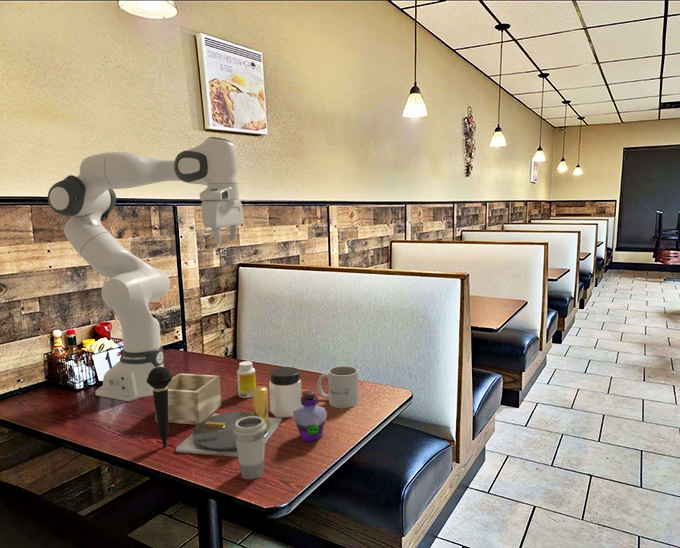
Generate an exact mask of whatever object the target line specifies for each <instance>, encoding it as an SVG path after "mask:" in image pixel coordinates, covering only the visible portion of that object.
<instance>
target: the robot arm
mask: <svg viewBox="0 0 680 548" xmlns="http://www.w3.org/2000/svg"><path fill="white" fill-rule="evenodd" d="M237 159H238V158H237V153H236V147H235V144H234V143H233V142H232V141H231V140H229V139H225V138H222V137H217V136H209V137H207V138H206V139H205V140H204V141H203V142H202V143H200V144H198V145H197V146H195V147H192V148H189V149H188V150H183V151H180V152H179V153H178V154H177V155H176V157H175V159H174V160H163V159H158V158H154V157H150V156H146V155H143V154H139V153H132V152H125V151H110V152H102V153H97V154H93V155H90V156H87V157H85V158H84V159H82V161H81V163H80V165H79V174H78V175H77V176H76V175H72V174H70V175H67V176H66V177H65V178H64V179H62V180H59V181H58V182H55V183H54V184H53V185H51V187H50V188H49V190H48V194H47V202H48V205H49V207H50V208H51V209H52V211H53V212H55V213H56V214H58V215H60V216H61V215H62V216H65V217H70V219H68V221H66V223H65V225H64V228H63V232H64V235H65V237H66V238H67V241H68V242H69V243H70V244H71V246H72V248H73V249H74V250H75V251H76V252H77V253H78V255H80V256H81V258H82V259H83V260H84V261H85V262H86V263H87V264H88V265H89V266H90V267H91V268H92V269H93V270H94V271H95V272H96V273H97V274H98V275H100V276H103V277H105V278H106V277H107V278H109V279H108V280H106V281H105V283H103V284H102V288H101V298H102V300H103V302H104V304H105V305H106V307H108V308H110V309H111V310H112V311H113V312H114V313H115V315H116V316H117V319H118V320H119V324H120V327H121V334H122V343H123V349H122V350H120V351H118V352H116V353H115V354H116V357H120V359H119V361H118V362H117V363H115V364H114V365H113V366H112V367H111V368H110V369H108V370H107V371H106V372H105V373H104V375H103V379H102V385H101V386H100V387H98V388H97V389H96V390H95V392H94V393H95V396H98V397H103V398H108V399H112V400H113V399H114V400H119V401H124V402H131V401H136V400H139V398H145V397H150V396H153V389H154V388H153V387H151V386H150V385H149V384H148V383H147V378H148V375H149V373H150V371H151V370H152V369H153V368H156V367H164V349H163V348H164V347H163V346H164V345H162V341H161V330H160V328H161V327H160V321H158V319H157V318H155V317H153V315H152V313H151V310H150V308H149V304H150V303H153V302H155V301H158V300H160V299H161V298H163V297H164V296H165V295H166V294H167V293H168V292H169V290H170V288H171V280H170V277H169V275H168V274H167V273H166V272H165V271H164V270H162V269H160V268H156V267H154V266H152V265H150V264H149V263H147V262H145V261H144V260H142V259H140V258H139V257H137V256H135V255H134V254H133V253H131V252H130V251H129V250H127V249H126V247H124V245H122V244H121V243H120V241H118V240H117V239H116V238H115V237H114V236H113V235H112V234H111V233H110V232H109V231H108V230H107V229H106V228H105V227H104V226H103V224H102V222H103V221H106V220H107V219H108V217H109V216H110V213H112V212H113V210H114V208H115V207H116V203H117V195H116V193H115V191H114V190H123V189H125V190H126V189H131V188H137V187H142V186H146V185H147V186H148V185H153V184H157V183H162V182H171V181H173V182H175V181H176V182H177V181H179V182H180V181H182V182H184V183H187V184H191V185H201V186H203V185H205V186H206V188H205V189H204V190H202V191H201V192H200V193H199V200H200V201H201V207H200V209H201V218H202V219H201V220H202V224H203V226H204V227H205V228H211V233H212V235H213V237H214V239H213V240H214V243H215V244H221V243H223V236H221V227H228V228H229V229H230V230H229V234H228V241H231V242H233V241H236V240H237V232H238V227H239V226H241V225H243V224H244V220H245V219H244V218H245V217H244V209H243V205H242V201H240V197H239V196H240V194H239V193H240V192H239V181H238V178H237V172H238V162H237V161H238V160H237ZM164 368H165V367H164Z"/></svg>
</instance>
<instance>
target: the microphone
mask: <svg viewBox="0 0 680 548" xmlns="http://www.w3.org/2000/svg"><path fill="white" fill-rule="evenodd" d="M172 378H173V375H172V374H171V372H170V370H169V369H168V368H166V367H156V368H153V369H152V370H151V371H150V373H149V375H148V378H147V383H148V384H149V385H150V386H151V387H153V388H154V389H153V395H152V396H153V404H154V412H155V411H156V416H155V419H156V418H157V421H156V423H157V424H156V426H157V431H158V435H159V436H160V437H161V443H162V447H163V448H166V447H167V439H168V438H167V437H168V436H167V435H168V434H169V422H168V387H167V385H168V384H169V382H170V381H171V380H172Z"/></svg>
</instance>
